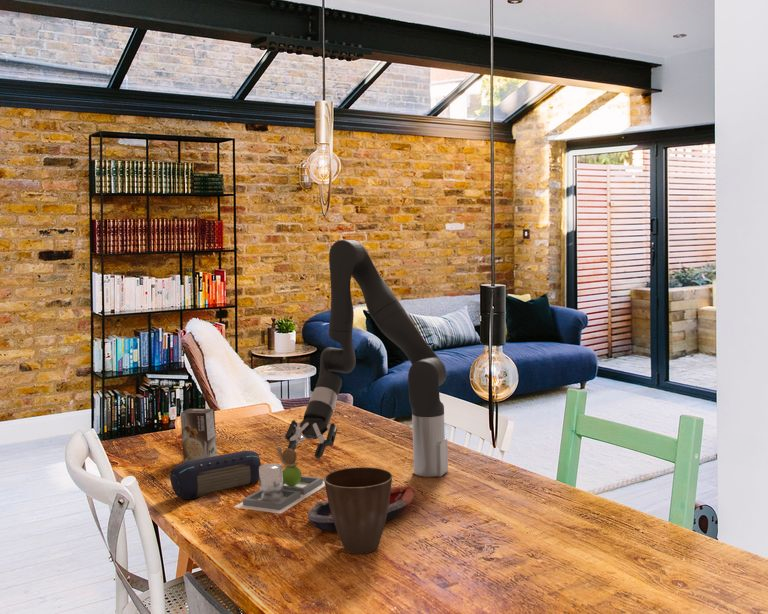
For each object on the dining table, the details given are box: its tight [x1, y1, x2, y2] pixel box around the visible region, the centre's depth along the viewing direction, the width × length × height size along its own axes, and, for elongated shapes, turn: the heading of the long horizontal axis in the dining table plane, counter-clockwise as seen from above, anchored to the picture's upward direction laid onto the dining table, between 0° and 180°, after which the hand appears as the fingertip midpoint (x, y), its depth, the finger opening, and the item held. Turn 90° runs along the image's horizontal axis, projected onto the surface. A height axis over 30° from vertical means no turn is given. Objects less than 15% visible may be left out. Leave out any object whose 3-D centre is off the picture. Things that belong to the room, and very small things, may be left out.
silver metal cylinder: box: [258, 462, 284, 502], centre depth 197 cm, size 6×6×9 cm
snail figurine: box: [274, 441, 303, 486], centre depth 209 cm, size 5×6×12 cm
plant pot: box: [323, 466, 393, 555], centre depth 169 cm, size 15×15×16 cm
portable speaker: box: [169, 450, 262, 500], centre depth 211 cm, size 25×10×10 cm, turn 123°
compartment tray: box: [233, 475, 325, 514], centre depth 203 cm, size 14×26×3 cm, turn 156°
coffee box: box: [180, 408, 218, 462], centre depth 242 cm, size 9×6×16 cm
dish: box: [307, 485, 416, 532], centre depth 188 cm, size 16×31×5 cm, turn 124°
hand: (303, 456), depth 211 cm, fingers open, 8 cm apart
